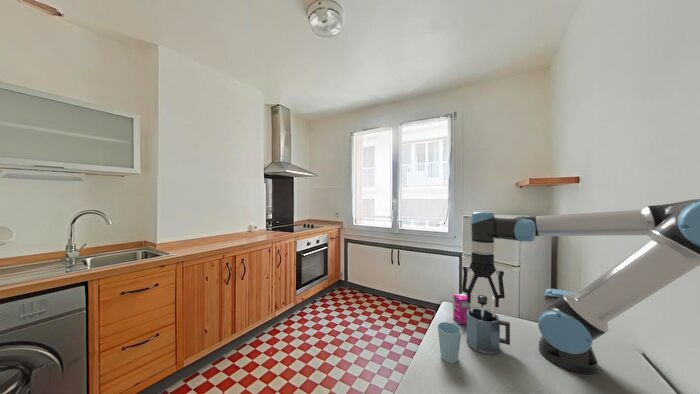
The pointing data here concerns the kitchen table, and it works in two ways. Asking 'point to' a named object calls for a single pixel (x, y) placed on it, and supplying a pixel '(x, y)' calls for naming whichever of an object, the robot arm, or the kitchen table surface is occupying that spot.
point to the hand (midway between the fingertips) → (482, 313)
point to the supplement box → (460, 308)
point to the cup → (449, 341)
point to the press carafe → (485, 332)
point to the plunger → (482, 304)
